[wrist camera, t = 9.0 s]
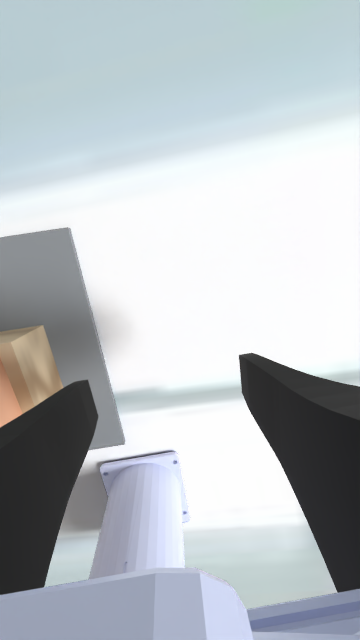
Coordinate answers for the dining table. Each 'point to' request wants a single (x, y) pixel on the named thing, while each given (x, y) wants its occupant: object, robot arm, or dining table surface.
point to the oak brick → (29, 365)
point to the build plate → (58, 316)
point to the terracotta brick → (7, 399)
